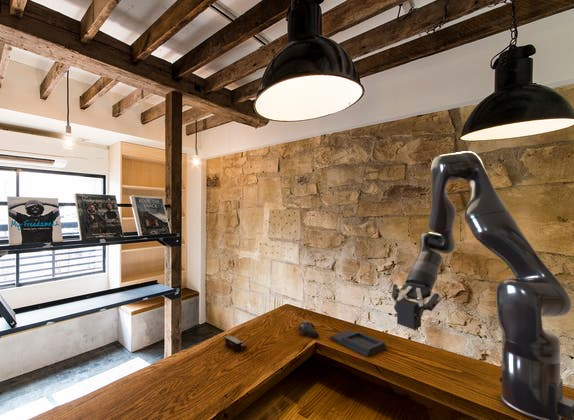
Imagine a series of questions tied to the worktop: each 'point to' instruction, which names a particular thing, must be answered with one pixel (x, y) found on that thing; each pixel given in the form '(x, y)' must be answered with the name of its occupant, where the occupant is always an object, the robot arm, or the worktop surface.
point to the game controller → (308, 329)
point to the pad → (359, 342)
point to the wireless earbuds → (234, 343)
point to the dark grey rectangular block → (407, 314)
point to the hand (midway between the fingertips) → (406, 314)
